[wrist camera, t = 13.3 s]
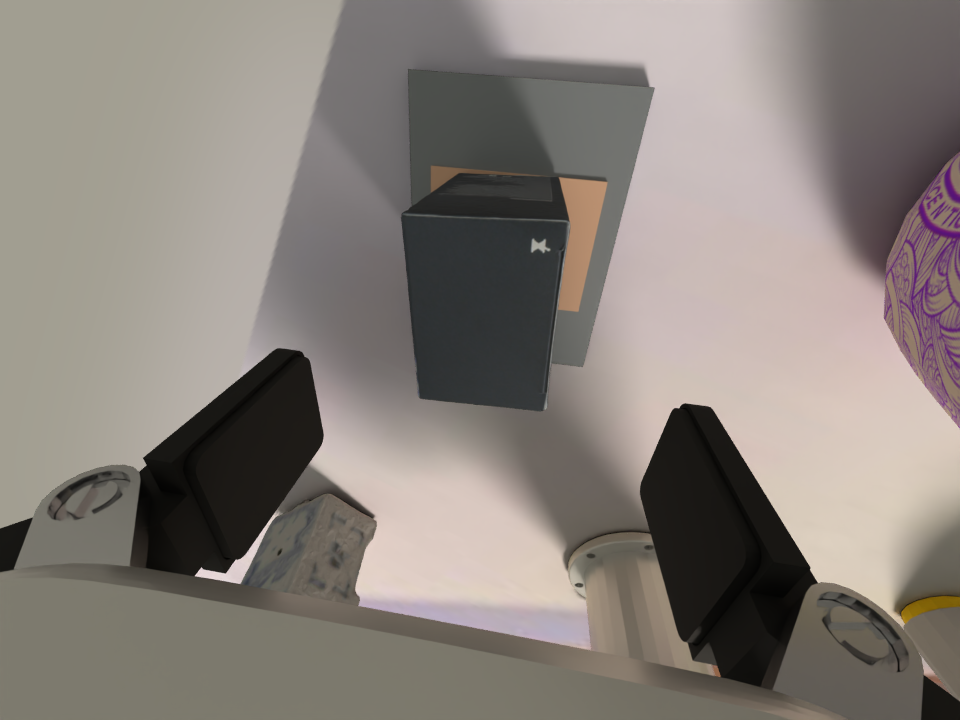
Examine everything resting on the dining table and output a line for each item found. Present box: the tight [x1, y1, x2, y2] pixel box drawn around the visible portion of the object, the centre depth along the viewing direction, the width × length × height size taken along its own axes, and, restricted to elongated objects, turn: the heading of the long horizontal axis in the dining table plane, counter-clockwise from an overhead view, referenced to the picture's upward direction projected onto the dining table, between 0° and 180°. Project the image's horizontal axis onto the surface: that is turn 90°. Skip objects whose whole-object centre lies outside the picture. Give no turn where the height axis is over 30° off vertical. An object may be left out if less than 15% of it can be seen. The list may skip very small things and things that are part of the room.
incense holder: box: [241, 494, 377, 606], centre depth 38 cm, size 10×8×10 cm
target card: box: [408, 69, 654, 367], centre depth 23 cm, size 16×12×1 cm
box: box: [401, 173, 570, 411], centre depth 18 cm, size 8×6×11 cm
